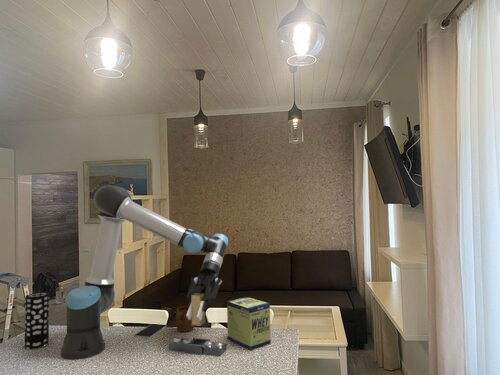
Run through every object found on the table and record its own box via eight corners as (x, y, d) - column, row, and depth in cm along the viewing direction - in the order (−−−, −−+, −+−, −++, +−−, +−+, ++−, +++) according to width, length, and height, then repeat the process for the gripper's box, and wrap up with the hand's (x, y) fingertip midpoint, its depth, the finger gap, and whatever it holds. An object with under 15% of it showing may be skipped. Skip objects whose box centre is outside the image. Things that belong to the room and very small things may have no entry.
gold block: (191, 325, 131) (191, 295, 132) (196, 322, 134) (195, 293, 135) (200, 325, 130) (199, 295, 130) (204, 322, 133) (204, 293, 134)
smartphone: (133, 335, 147) (151, 323, 162) (133, 338, 147) (151, 326, 162) (149, 336, 145) (167, 324, 160) (149, 339, 145) (167, 327, 160)
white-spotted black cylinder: (19, 348, 137) (20, 297, 139) (36, 340, 145) (37, 292, 147) (36, 349, 135) (37, 297, 137) (53, 342, 143) (54, 292, 145)
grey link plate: (168, 350, 131) (168, 341, 131) (178, 343, 138) (178, 335, 138) (219, 356, 124) (219, 347, 125) (227, 349, 131) (227, 340, 131)
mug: (185, 336, 146) (185, 313, 146) (169, 335, 148) (168, 313, 148) (196, 327, 157) (196, 306, 158) (181, 326, 159) (180, 305, 160)
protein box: (251, 351, 129) (250, 308, 130) (226, 339, 141) (226, 300, 142) (271, 343, 136) (270, 303, 137) (246, 333, 148) (246, 296, 149)
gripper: (232, 272, 145) (217, 325, 128) (196, 271, 150) (177, 321, 134) (227, 261, 140) (210, 314, 124) (190, 260, 146) (169, 311, 129)
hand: (193, 318), depth 129 cm, fingers closed on gold block, 4 cm apart
